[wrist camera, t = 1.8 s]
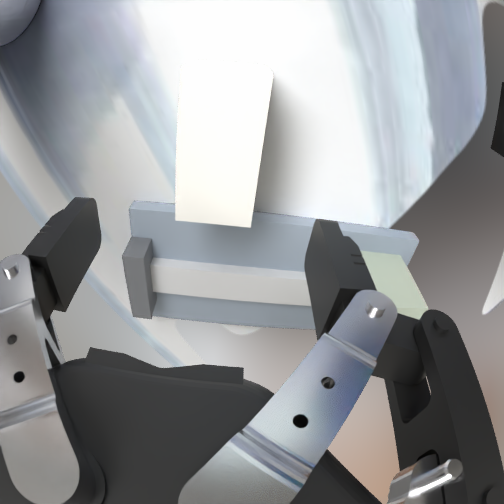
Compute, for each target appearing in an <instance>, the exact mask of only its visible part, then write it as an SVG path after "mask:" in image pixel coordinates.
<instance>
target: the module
mask: <svg viewBox="0 0 504 504" xmlns="http://www.w3.org/2000/svg"><path fill="white" fill-rule="evenodd" d="M273 76H274V73H273V72H272V71H271V70H270V69H269V68H268V66H264V65H257V64H248V63H238V62H227V61H214V60H199V61H195V62H192V63H189V64H185V65H182V66H181V76H180V89H179V104H178V122H177V145H176V183H175V220H176V221H187V222H198V223H208V224H218V225H229V226H239V227H248V228H251V222H252V215H253V208H254V202H255V195H256V188H257V182H258V175H259V168H260V162H261V155H262V148H263V142H264V135H265V128H266V122H267V115H268V109H269V102H270V96H271V89H272V83H273Z"/></svg>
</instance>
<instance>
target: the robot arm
mask: <svg viewBox="0 0 504 504" xmlns="http://www.w3.org/2000/svg"><path fill="white" fill-rule="evenodd" d="M40 1H41V0H0V46H2V45H5V44H8V43H10V42H11V41H13V40H14V39H16V38H17V37H18V36H19V35H20V34H21V33H22V32H23V31H24V30H25V29H26V28H27V26H28V25H29V23H30V22H31V20H32V19H33V17H34V15H35V13H36V11H37V9H38V7H39V4H40ZM100 244H101V230H100V224H99V217H98V211H97V204H96V201H95V199H94V198H81V197H75V198H74V199H73V200H72V201H71V202H70V203H69V204H68V206H67V207H66V208H65V209H64V210H61V211H60V212H58V213H57V214H55V215H54V216H52V217H51V218H50V219H49V221H48V222H47V223H46V224H45V226H44V227H43V228H42V229H41V230H40V233H38V234H37V235H36V236H35V238H34V239H33V240H32V241H31V243H30V244H29V245H28V246H27V248H26V249H25V250H24V252H23V253H22V254H15V255H11V256H8V257H6V258H4V259H3V260H1V261H0V504H382V503H381V502H380V501H379V500H378V499H377V498H376V497H375V496H374V495H372V494H371V493H370V492H369V491H368V490H367V489H366V488H365V487H364V486H363V485H362V484H361V483H360V482H359V481H358V480H357V479H356V478H355V477H354V476H353V475H352V474H351V473H350V472H349V471H348V470H347V469H346V468H345V467H344V466H343V465H342V464H341V463H340V462H339V461H338V460H337V459H336V458H335V457H334V456H333V455H332V454H331V453H330V452H329V450H328V449H327V448H328V447H329V445H330V444H331V442H332V441H333V439H334V437H335V436H336V434H337V432H338V431H339V430H340V428H341V426H342V425H343V423H344V421H345V420H346V418H347V417H348V415H349V413H350V411H351V410H352V408H353V407H354V404H355V403H356V401H357V400H358V398H359V396H360V394H361V393H362V391H363V389H364V387H365V385H366V384H367V382H368V380H369V378H370V376H371V375H372V376H376V377H380V378H384V380H385V384H386V389H387V394H388V400H389V404H390V410H391V416H392V421H393V427H394V433H395V440H396V446H397V453H398V460H399V468H400V472H399V473H397V474H396V476H395V477H394V478H393V480H392V482H391V485H390V492H389V495H388V502H387V504H504V470H503V466H502V461H501V456H500V453H499V448H498V445H497V440H496V437H495V433H494V429H493V425H492V422H491V418H490V415H489V412H488V409H487V405H486V402H485V399H484V396H483V393H482V390H481V387H480V384H479V381H478V379H477V376H476V373H475V370H474V368H473V365H472V362H471V360H470V358H469V355H468V352H467V350H466V347H465V345H464V342H463V340H462V338H461V335H460V333H459V331H458V328H457V326H456V324H455V323H454V322H453V320H452V319H451V318H450V317H449V316H448V315H446V314H445V313H443V312H441V311H438V310H428V311H425V312H424V313H423V315H422V316H421V318H420V319H415V318H412V317H409V316H406V315H402V314H400V313H397V308H396V306H395V304H394V303H393V301H392V300H391V299H390V298H389V297H387V296H386V295H384V294H383V293H381V292H378V291H377V289H376V287H375V284H374V282H373V279H372V277H371V274H370V272H369V270H368V267H367V265H366V263H365V260H364V258H363V257H362V253H361V251H360V249H359V246H358V245H357V244H356V243H355V242H354V241H353V240H352V239H351V238H350V237H349V236H343V234H342V231H341V229H340V227H339V224H338V222H337V221H330V220H323V219H316V220H315V222H314V225H313V229H312V233H311V236H310V240H309V244H308V247H307V251H306V255H305V262H304V269H305V275H306V280H307V285H308V291H309V296H310V301H311V307H312V312H313V318H314V323H315V329H316V335H317V340H318V341H317V343H316V344H315V345H314V347H313V348H312V349H311V351H310V352H309V353H308V354H307V356H306V357H305V358H304V359H303V361H302V362H301V363H300V364H299V366H298V367H297V368H296V369H295V371H294V372H293V373H292V374H291V375H290V377H289V378H288V379H287V380H286V381H285V383H284V384H283V385H282V386H281V387H280V389H279V390H278V391H277V392H276V393H275V394H274V393H272V392H271V391H269V390H268V389H266V388H264V387H262V386H261V385H259V384H256V383H254V382H251V381H248V380H245V379H243V369H244V368H240V367H227V366H216V365H205V364H202V365H193V366H184V367H173V368H158V367H156V366H153V365H151V364H148V363H146V362H143V361H141V360H138V359H136V358H133V357H131V356H129V355H126V354H124V353H118V352H112V351H107V350H102V349H96V348H91V347H90V349H89V352H88V355H87V357H86V358H81V359H75V360H71V361H68V362H66V361H65V358H64V355H63V352H62V349H61V346H60V343H59V339H58V336H57V333H56V330H55V326H54V322H53V319H52V317H51V313H52V312H53V310H58V311H62V312H66V310H67V308H68V306H69V304H70V302H71V300H72V298H73V296H74V294H75V292H76V290H77V288H78V286H79V284H80V283H81V281H82V279H83V277H84V275H85V273H86V272H87V270H88V268H89V266H90V264H91V263H92V261H93V259H94V257H95V256H96V254H97V252H98V250H99V248H100ZM426 376H427V379H428V382H429V386H430V389H431V395H430V391H429V387H428V384H427V380H426Z"/></svg>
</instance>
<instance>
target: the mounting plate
mask: <svg viewBox="0 0 504 504" xmlns="http://www.w3.org/2000/svg"><path fill="white" fill-rule="evenodd" d="M129 214H130V224H131V234H132V237H131V239H130V241H129V243H128V245H127V247H126V249H125V251H124V253H123V255H122V259H123V265H124V271H125V277H126V283H127V288H128V294H129V299H130V304H131V309H132V314H133V317H138V318H146V319H152V316H158V317H166V318H175V319H183V320H192V321H202V322H212V323H222V324H234V325H246V326H259V327H274V328H291V329H310V330H316V329H315V323H314V318H313V312H312V307H311V301H310V296H309V291H308V285H307V280H306V275H305V269H304V262H305V255H306V251H307V247H308V244H309V240H310V236H311V233H312V229H313V225H314V222H315V220H316V219H314V218H306V217H297V216H289V215H280V214H272V213H263V212H254V211H253V215H252V222H251V228H248V227H239V226H229V225H218V224H208V223H198V222H187V221H176V220H175V204H169V203H156V202H143V201H134V202H133V203H132V205H131V207H130V208H129ZM338 224H339V227H340V229H341V231H342V234H343V236H349V237H350V238H351V239H352V240H353V241H354V242H355V243H356V244H357V245H358V246H359V249H360V251H361V253H362V257H363V258H364V260H365V263H366V265H367V267H368V270H369V272H370V274H371V277H372V279H373V282H374V284H375V287H376V289H377V291H378V292H381V293H383V294H384V295H386V296H387V297H389V298H390V299H391V300H392V301H393V303H394V304H395V306H396V308H397V313H400V314H402V315H406V316H409V317H412V318H415V319H420V318H421V316H422V315H423V313H424V312H425V311H427V310H428V307H427V305H426V303H425V301H424V299H423V297H422V295H421V293H420V291H419V289H418V287H417V285H416V283H415V281H414V279H413V277H412V275H411V274H410V272H409V270H408V268H407V266H408V264H409V262H410V259H411V257H412V255H413V253H414V251H415V249H416V247H417V245H418V243H419V240H418V238H417V237H416V235H415V234H414V233H412V232H406V231H400V230H393V229H387V228H380V227H373V226H366V225H359V224H352V223H344V222H338Z"/></svg>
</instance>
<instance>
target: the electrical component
mask: <svg viewBox="0 0 504 504" xmlns="http://www.w3.org/2000/svg"><path fill="white" fill-rule="evenodd" d="M491 149H493V150H494V151H496V152H497V153H499V154H500V155H502V156H503V157H504V82H502V88H501V96H500V103H499V109H498V115H497V121H496V126H495V131H494V136H493V141H492V145H491Z"/></svg>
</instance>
